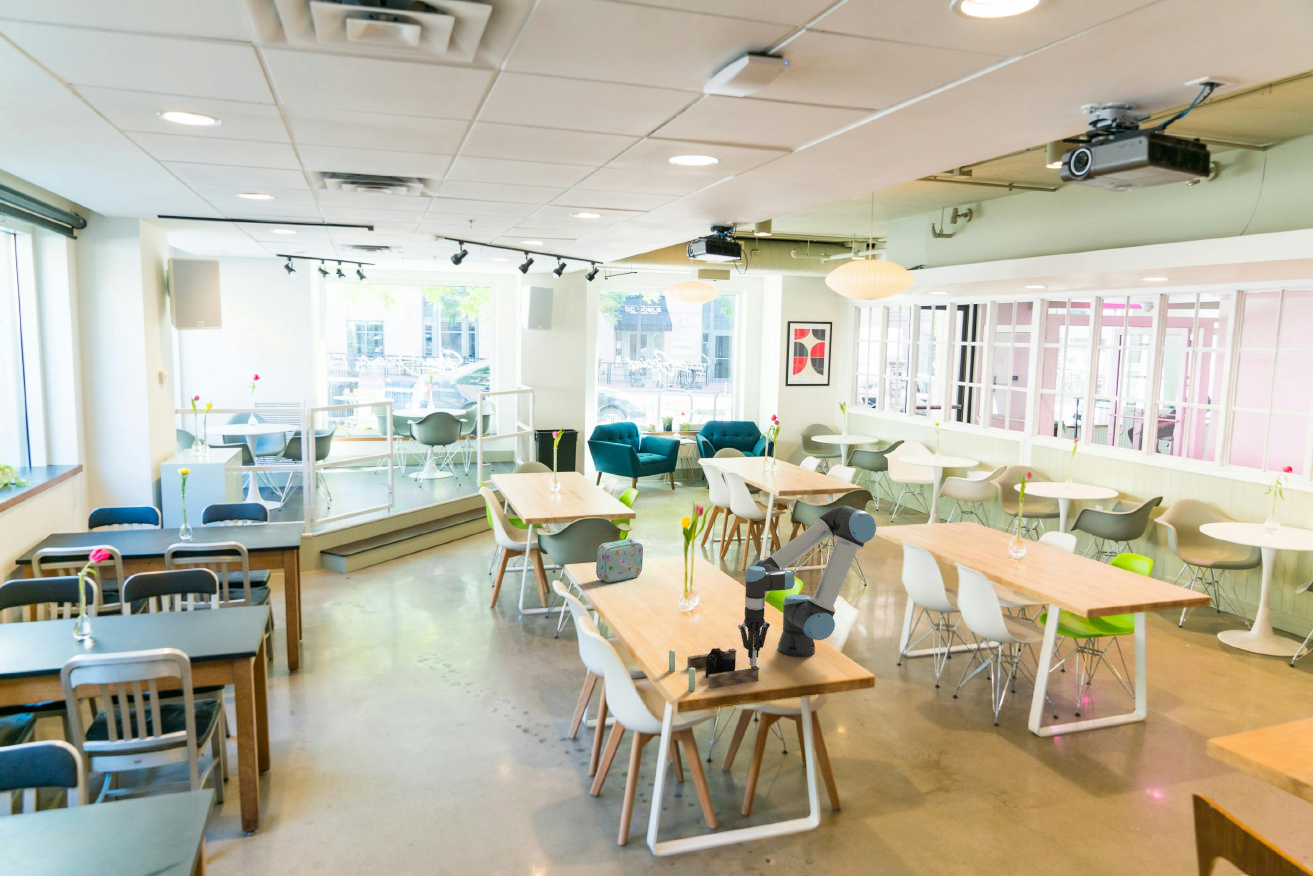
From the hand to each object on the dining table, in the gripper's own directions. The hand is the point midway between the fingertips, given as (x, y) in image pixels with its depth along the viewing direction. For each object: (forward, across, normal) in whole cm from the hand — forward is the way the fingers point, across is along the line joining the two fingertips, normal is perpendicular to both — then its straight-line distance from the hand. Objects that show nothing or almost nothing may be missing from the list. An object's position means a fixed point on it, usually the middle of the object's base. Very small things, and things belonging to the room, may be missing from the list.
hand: (752, 665), depth 322 cm
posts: (+2, +30, 0) cm, 30 cm away
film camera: (+2, +13, -1) cm, 13 cm away
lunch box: (+2, +8, -136) cm, 136 cm away
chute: (+2, +13, 0) cm, 13 cm away
